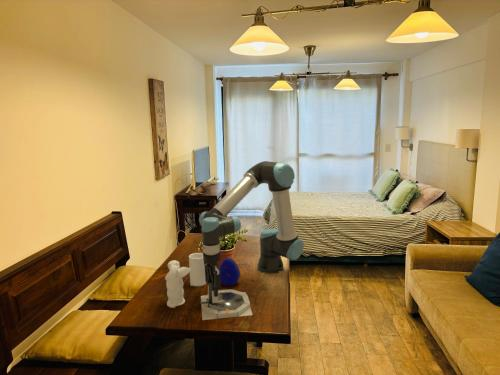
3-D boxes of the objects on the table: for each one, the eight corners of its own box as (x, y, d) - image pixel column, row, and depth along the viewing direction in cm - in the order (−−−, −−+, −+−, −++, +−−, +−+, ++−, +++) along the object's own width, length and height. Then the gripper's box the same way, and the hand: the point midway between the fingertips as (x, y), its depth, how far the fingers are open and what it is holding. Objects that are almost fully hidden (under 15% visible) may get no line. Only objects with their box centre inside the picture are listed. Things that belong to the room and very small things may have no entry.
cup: (203, 288, 188) (201, 259, 185) (188, 287, 190) (186, 258, 187) (208, 281, 196) (206, 253, 193) (193, 280, 198) (192, 252, 195)
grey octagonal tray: (245, 293, 182) (245, 287, 181) (252, 318, 160) (252, 311, 159) (199, 297, 178) (199, 291, 178) (200, 323, 156) (200, 316, 156)
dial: (238, 294, 179) (237, 271, 177) (246, 310, 164) (245, 286, 161) (205, 299, 175) (204, 275, 172) (211, 316, 160) (210, 291, 157)
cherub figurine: (170, 298, 179) (167, 255, 175) (195, 298, 178) (193, 255, 175) (163, 310, 167) (160, 265, 163) (190, 310, 166) (188, 265, 163)
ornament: (242, 283, 193) (241, 256, 190) (234, 290, 185) (233, 263, 182) (224, 279, 198) (223, 253, 195) (215, 286, 190) (214, 259, 187)
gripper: (196, 247, 167) (198, 294, 172) (211, 260, 153) (213, 310, 158) (211, 244, 171) (213, 290, 176) (227, 256, 157) (229, 306, 162)
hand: (213, 299), depth 167 cm, fingers open, 4 cm apart
